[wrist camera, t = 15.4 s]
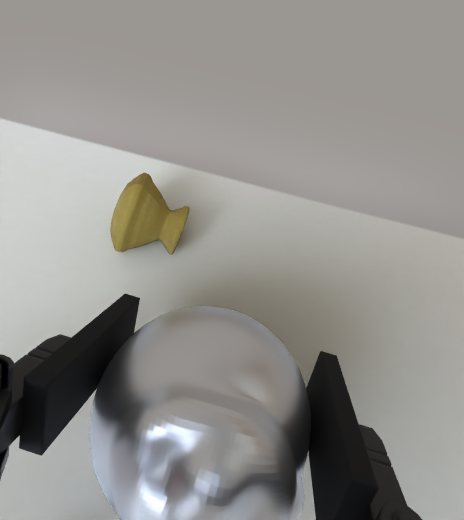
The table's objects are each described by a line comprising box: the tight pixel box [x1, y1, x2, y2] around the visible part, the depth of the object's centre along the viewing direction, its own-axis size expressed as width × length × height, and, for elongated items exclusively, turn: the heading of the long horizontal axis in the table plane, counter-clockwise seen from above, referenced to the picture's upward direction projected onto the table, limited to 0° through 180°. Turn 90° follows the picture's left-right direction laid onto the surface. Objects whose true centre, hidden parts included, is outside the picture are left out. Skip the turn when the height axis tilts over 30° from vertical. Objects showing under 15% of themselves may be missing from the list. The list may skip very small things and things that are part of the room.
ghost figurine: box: [90, 306, 311, 520], centre depth 13 cm, size 9×10×10 cm
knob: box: [111, 173, 189, 254], centre depth 20 cm, size 5×5×5 cm
